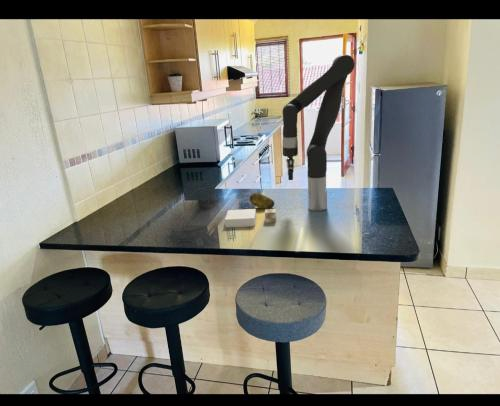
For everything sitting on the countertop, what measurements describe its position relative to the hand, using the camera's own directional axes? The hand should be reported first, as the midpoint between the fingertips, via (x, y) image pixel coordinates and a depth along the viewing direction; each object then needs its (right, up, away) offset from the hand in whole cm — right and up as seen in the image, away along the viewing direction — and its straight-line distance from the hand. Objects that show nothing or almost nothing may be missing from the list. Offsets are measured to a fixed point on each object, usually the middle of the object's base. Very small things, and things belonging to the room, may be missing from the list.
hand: (290, 177), depth 191 cm
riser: (-25, -22, -5) cm, 33 cm away
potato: (-14, -16, +12) cm, 24 cm away
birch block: (-10, -21, -7) cm, 25 cm away
